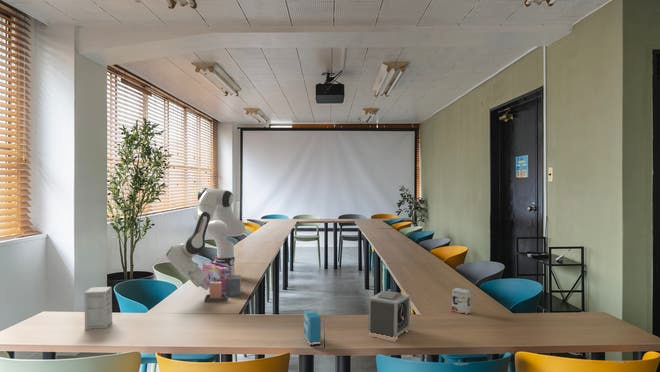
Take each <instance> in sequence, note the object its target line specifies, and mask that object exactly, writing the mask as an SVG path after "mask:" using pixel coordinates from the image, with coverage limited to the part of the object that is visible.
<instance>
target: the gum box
mask: <svg viewBox="0 0 660 372" xmlns="http://www.w3.org/2000/svg"><path fill="white" fill-rule="evenodd" d="M202 270H203V271H204V273H205V274H206V277H205V278H206V279H207V280H208V281H209V282H222V283H221V291H225V292H226V279H225V276H227V275H231V267H228V266H224V265H221V264H218V263H215V262H214V261H211V262H210V263H202ZM203 283H204V284H205V285H206V283H205V282H203ZM208 288H210V285H209V286H208Z"/></svg>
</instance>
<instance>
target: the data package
mask: <svg viewBox="0 0 660 372" xmlns="http://www.w3.org/2000/svg"><path fill="white" fill-rule="evenodd" d="M321 318H322V317H321V315H319V314H318V312H317V311H316V310H315V309H310V310H308V309H307V310H304V311H303V336H304V335H305V337H306V338H307V339H308V341H309V342H310V343H313V342H322V332H321V331H322V319H321Z"/></svg>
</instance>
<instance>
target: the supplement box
mask: <svg viewBox="0 0 660 372" xmlns="http://www.w3.org/2000/svg"><path fill="white" fill-rule="evenodd" d="M112 288H113V287H112V286H98V287H95V286H94V287H90V288H89V289H87V290H86V291H85V292H84V293H83V294H84V297H83V298H84V330H89V329H90V330H91V329H92V328H95V329H107V328H108V327H109V326H110V325H111V323H113V303H112V302H113V298H112V297H113V296H112V295H113V292H112V291H113V289H112Z"/></svg>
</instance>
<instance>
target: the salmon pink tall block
mask: <svg viewBox="0 0 660 372" xmlns="http://www.w3.org/2000/svg"><path fill="white" fill-rule="evenodd" d="M221 283H222V282H210V287H209V294H210V298H221Z"/></svg>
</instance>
